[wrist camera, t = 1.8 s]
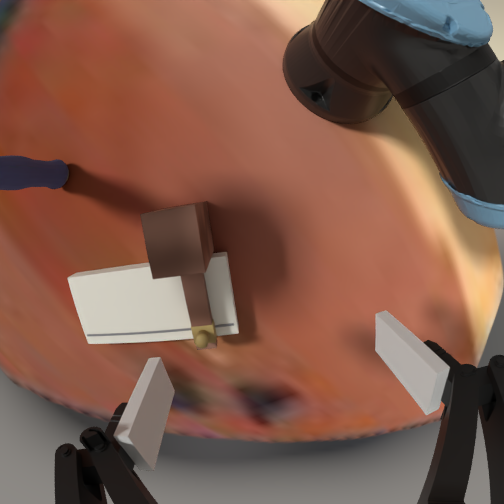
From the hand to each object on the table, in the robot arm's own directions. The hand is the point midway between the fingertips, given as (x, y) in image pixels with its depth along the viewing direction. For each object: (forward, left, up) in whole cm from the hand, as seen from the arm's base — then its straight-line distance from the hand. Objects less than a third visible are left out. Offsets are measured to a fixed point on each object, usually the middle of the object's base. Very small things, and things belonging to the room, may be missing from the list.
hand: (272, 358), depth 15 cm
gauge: (0, -7, -20) cm, 21 cm away
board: (+2, -14, -20) cm, 25 cm away
